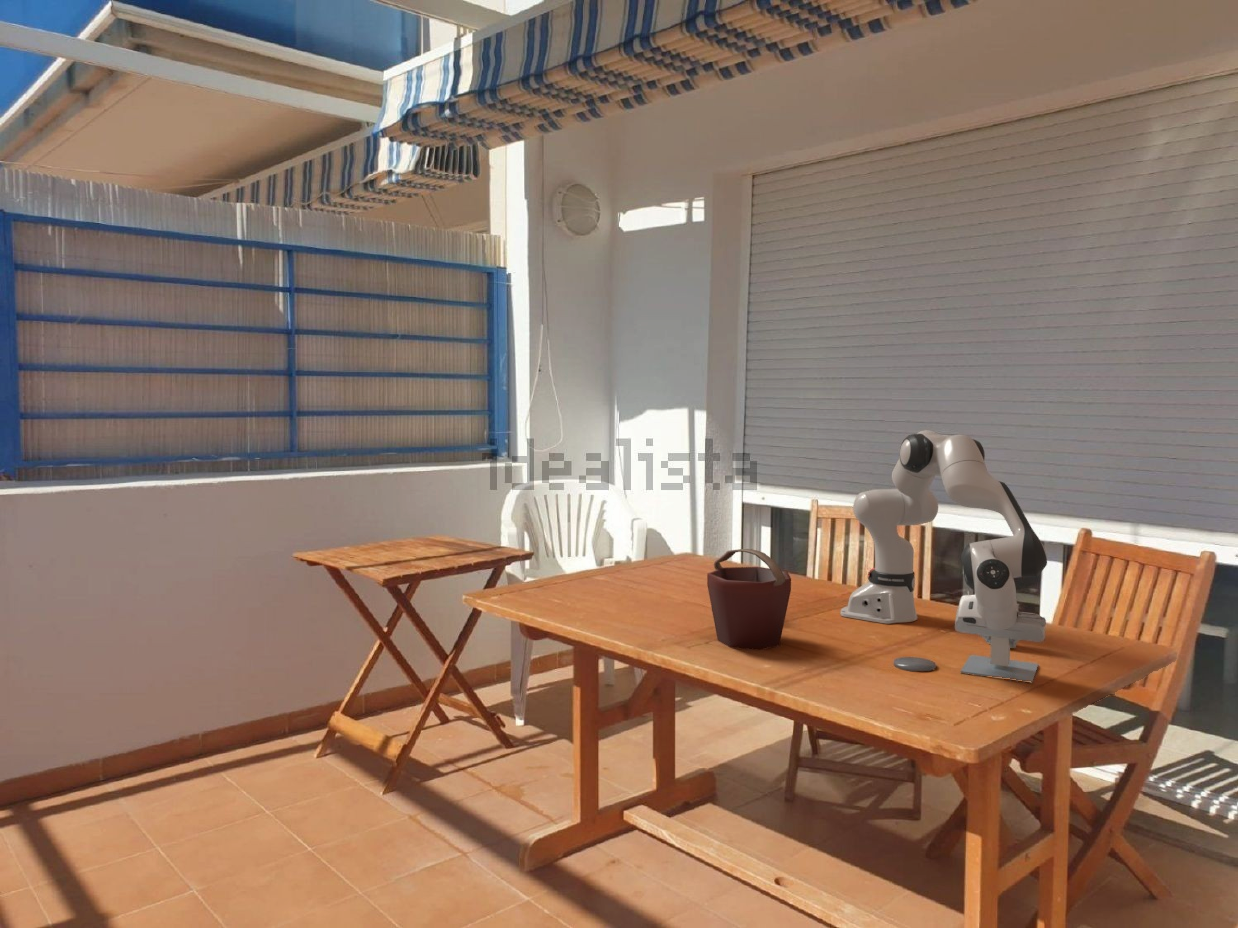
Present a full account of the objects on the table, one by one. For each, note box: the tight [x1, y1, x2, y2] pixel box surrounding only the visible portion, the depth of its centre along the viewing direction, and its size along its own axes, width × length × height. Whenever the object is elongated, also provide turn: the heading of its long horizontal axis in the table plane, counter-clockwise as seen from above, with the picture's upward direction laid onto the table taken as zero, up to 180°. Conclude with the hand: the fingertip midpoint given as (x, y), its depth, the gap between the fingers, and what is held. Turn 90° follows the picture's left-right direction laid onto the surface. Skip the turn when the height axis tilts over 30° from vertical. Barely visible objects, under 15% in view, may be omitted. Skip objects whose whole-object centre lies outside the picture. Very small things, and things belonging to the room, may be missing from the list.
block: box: [989, 636, 1011, 666], centre depth 229 cm, size 4×4×9 cm
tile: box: [959, 654, 1039, 682], centre depth 230 cm, size 16×16×1 cm
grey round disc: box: [893, 656, 937, 672], centre depth 233 cm, size 10×10×1 cm
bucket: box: [706, 548, 792, 651], centre depth 255 cm, size 24×22×25 cm
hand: (1000, 641), depth 230 cm, fingers closed on block, 4 cm apart
